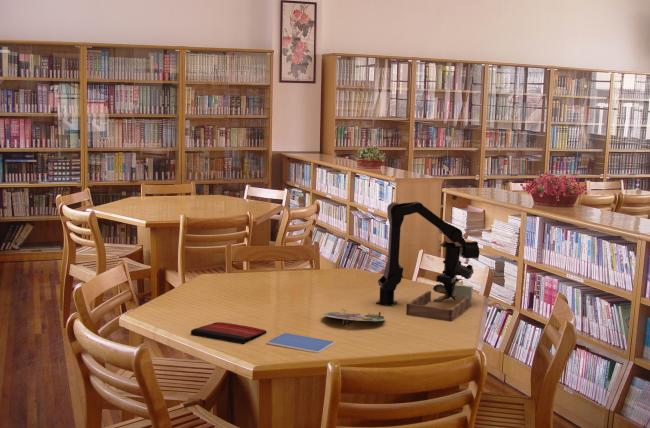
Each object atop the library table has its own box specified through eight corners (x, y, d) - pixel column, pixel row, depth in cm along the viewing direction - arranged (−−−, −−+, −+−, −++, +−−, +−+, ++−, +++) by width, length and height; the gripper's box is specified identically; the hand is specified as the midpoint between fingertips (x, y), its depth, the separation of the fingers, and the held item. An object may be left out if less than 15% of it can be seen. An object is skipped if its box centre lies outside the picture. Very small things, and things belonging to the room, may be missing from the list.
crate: (451, 321, 285) (451, 310, 284) (406, 314, 292) (406, 304, 292) (470, 306, 307) (471, 296, 306) (428, 300, 314) (428, 290, 314)
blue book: (336, 344, 255) (336, 340, 255) (318, 355, 244) (318, 351, 244) (284, 336, 263) (284, 332, 263) (265, 345, 252) (265, 341, 252)
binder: (244, 338, 251) (190, 329, 260) (244, 345, 251) (190, 336, 260) (269, 328, 266) (217, 320, 275) (269, 335, 266) (217, 326, 275)
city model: (395, 322, 290) (395, 305, 290) (382, 331, 267) (383, 313, 267) (330, 317, 297) (330, 301, 296) (312, 325, 274) (313, 308, 274)
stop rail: (470, 299, 318) (471, 287, 318) (445, 295, 323) (446, 284, 322) (472, 298, 320) (472, 286, 320) (447, 294, 325) (447, 283, 324)
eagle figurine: (451, 294, 320) (430, 291, 318) (457, 282, 316) (436, 279, 314) (454, 308, 314) (433, 304, 313) (460, 296, 310) (439, 292, 308)
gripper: (464, 263, 298) (462, 304, 300) (478, 257, 314) (476, 295, 316) (436, 260, 303) (434, 300, 305) (451, 254, 319) (449, 291, 321)
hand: (449, 296), depth 311 cm, fingers closed
